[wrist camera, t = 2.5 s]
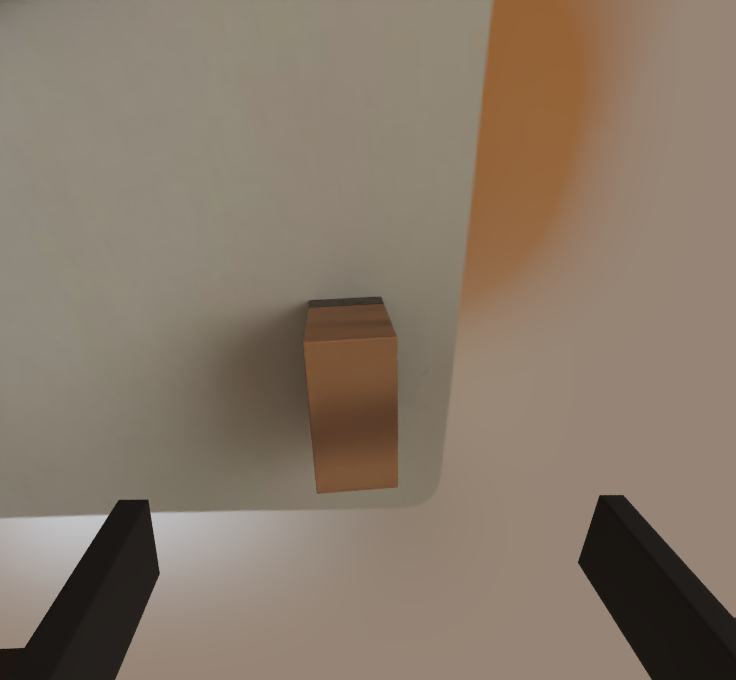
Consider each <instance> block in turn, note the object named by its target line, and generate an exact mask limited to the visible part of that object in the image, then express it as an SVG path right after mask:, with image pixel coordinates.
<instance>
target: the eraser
mask: <svg viewBox="0 0 736 680" xmlns="http://www.w3.org/2000/svg"><path fill="white" fill-rule="evenodd" d="M303 350H304V361H305V372H306V382H307V393H308V404H309V415H310V425H311V436H312V447H313V458H314V468H315V479H316V490H317V494H320V493H333V492H345V491H357V490H369V489H382V488H394V487H398V379H397V336H396V333H395V331H394V328H393V326H392V323H391V321H390V318H389V316H388V313H387V311H386V308H385V306H384V303H383V301H382V298H381V297H367V298H348V299H328V300H310V301H309V306H308V313H307V319H306V326H305V332H304V339H303Z"/></svg>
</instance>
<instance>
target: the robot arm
mask: <svg viewBox="0 0 736 680" xmlns="http://www.w3.org/2000/svg"><path fill="white" fill-rule="evenodd" d="M578 564H579V565H580V567H581V568H582V570H583V571H584V573H585V575H586V576H587V578H588V579H589V581H590V582H591V584H592V586H593V587H594V589H595V590H596V592H597V593H598V595H599V597H600V598H601V600H602V601H603V603H604V604H605V606H606V608H607V609H608V611H609V613H610V614H611V616H612V617H613V619H614V621H615V622H616V623H617V625H618V627H619V628H620V630H621V632H622V633H623V635H624V636H625V638H626V640H627V641H628V643H629V644H630V645H631V647H632V649H633V650H634V652H635V654H636V655H637V657H638V658H639V660H640V661H641V663H642V665H643V666H644V668H645V670H646V671H647V673H648V674H649V676H650V677H651V679H652V680H736V618H733V616H732V615H731V614H730V613H729V612H728V611H727V610H726V609H725V608H724V606H723V605H722V604H721V603H720V602H719V601H718V600H717V599H716V598H715V596H714V595H713V594H712V593H711V592H710V591H709V590H708V589H707V588H706V587H705V585H704V584H703V583H702V582H701V581H700V580H699V579H698V578H697V577H696V575H695V574H694V573H693V572H692V571H691V570H690V569H689V568H688V567H687V565H686V564H685V563H684V562H683V561H682V560H681V559H680V558H679V557H678V555H677V554H676V553H675V552H674V551H673V550H672V549H671V548H670V547H669V546H668V544H667V543H666V542H665V541H664V540H663V539H662V538H661V537H660V535H658V533H657V532H656V531H655V530H654V529H653V528H652V527H651V526H650V524H648V522H647V521H646V520H645V519H644V518H643V517H642V516H641V515H640V514H639V512H638V511H637V510H636V509H635V508H634V507H633V506H632V504H631V503H630V502H629V501H628V500H627V499H626V498H625V497H624V496H623V495H600V496H599V499H598V502H597V505H596V508H595V512H594V514H593V518H592V521H591V524H590V527H589V530H588V533H587V536H586V539H585V542H584V545H583V549H582V552H581V555H580V558H579V561H578ZM159 574H160V572H159V567H158V559H157V553H156V547H155V540H154V534H153V527H152V521H151V514H150V508H149V501H148V500H118V502H117V503H116V505H115V507H114V508H113V510H112V511H111V513H110V514H109V516H108V518H107V519H106V521H105V522H104V524H103V526H102V527H101V529H100V530H99V532H98V533H97V535H96V537H95V538H94V540H93V541H92V543H91V544H90V546H89V547H88V549H87V551H86V552H85V554H84V555H83V557H82V558H81V560H80V562H79V563H78V565H77V566H76V568H75V569H74V571H73V573H72V574H71V576H70V577H69V579H68V580H67V582H66V584H65V585H64V587H63V588H62V590H61V591H60V593H59V595H58V596H57V598H56V599H55V601H54V602H53V604H52V606H51V607H50V609H49V610H48V612H47V613H46V615H45V617H44V618H43V620H42V621H41V623H40V624H39V626H38V628H37V629H36V631H35V632H34V634H33V636H32V637H31V639H30V640H29V642H28V643H27V645H26V646H25V648H15V649H0V680H115V679H116V676H117V674H118V671H119V669H120V667H121V664H122V662H123V660H124V657H125V655H126V652H127V650H128V648H129V645H130V643H131V641H132V638H133V636H134V634H135V631H136V629H137V626H138V624H139V622H140V619H141V617H142V614H143V612H144V609H145V607H146V605H147V603H148V600H149V598H150V595H151V593H152V591H153V588H154V586H155V583H156V581H157V579H158V576H159Z"/></svg>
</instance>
